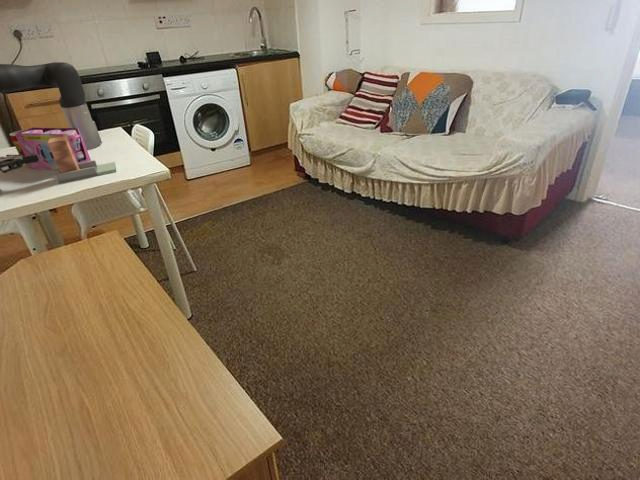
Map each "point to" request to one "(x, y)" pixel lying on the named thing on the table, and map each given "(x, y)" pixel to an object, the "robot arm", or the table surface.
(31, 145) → the gum box
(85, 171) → the chute
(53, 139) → the block
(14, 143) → the canned food
